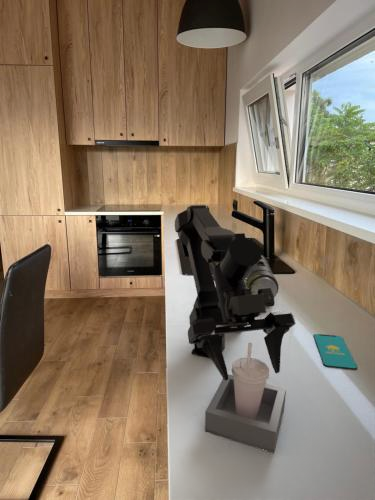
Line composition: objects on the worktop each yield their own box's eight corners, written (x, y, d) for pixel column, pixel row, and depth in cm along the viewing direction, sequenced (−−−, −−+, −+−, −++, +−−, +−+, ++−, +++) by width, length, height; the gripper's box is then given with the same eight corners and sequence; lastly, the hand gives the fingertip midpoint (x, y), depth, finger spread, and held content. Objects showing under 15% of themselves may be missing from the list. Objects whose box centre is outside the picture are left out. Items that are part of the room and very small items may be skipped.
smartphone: (324, 364, 77) (312, 333, 92) (323, 367, 78) (312, 335, 92) (358, 368, 76) (341, 336, 91) (358, 372, 76) (341, 338, 91)
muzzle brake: (267, 278, 136) (269, 253, 134) (278, 307, 109) (280, 276, 107) (243, 278, 137) (244, 252, 134) (248, 306, 110) (249, 275, 107)
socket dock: (205, 431, 59) (205, 411, 58) (225, 391, 69) (225, 373, 68) (274, 453, 54) (276, 432, 53) (284, 406, 65) (286, 388, 64)
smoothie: (247, 398, 66) (252, 332, 62) (272, 419, 61) (280, 348, 57) (221, 410, 63) (225, 341, 59) (245, 434, 57) (252, 359, 54)
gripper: (191, 275, 57) (209, 373, 49) (294, 268, 61) (325, 357, 53) (181, 301, 66) (195, 387, 59) (271, 293, 70) (295, 372, 63)
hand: (252, 376), depth 58 cm, fingers open, 9 cm apart
